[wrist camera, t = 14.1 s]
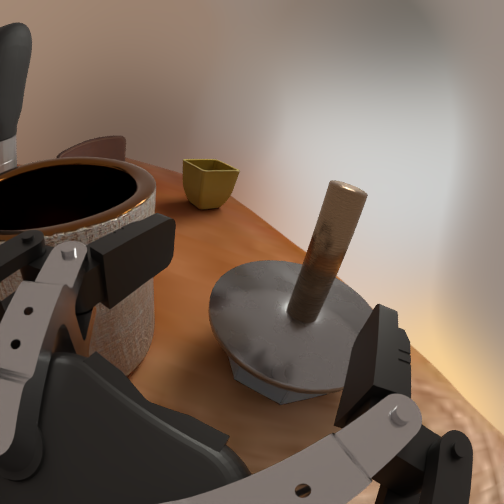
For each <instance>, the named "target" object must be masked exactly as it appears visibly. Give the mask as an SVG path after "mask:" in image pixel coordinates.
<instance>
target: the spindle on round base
mask: <svg viewBox="0 0 504 504" xmlns="http://www.w3.org/2000/svg"><path fill="white" fill-rule="evenodd" d="M367 196H368V195H367V193H365V192H364V191H362V190H361V189H359V188H357V187H355V186H352V185H350V184H346V183H344V182H340V181H330V182H329V186H328V189H327V192H326V196H325V198H324V202H323V205H322V208H321V211H320V214H319V217H318V220H317V224H316V227H315V229H314V232H313V235H312V239H311V241H310V244H309V247H308V250H307V253H306V256H305V259H304V262H303V265H302V264H297V263H292V262H286V261H256V262H250V263H246V264H243V265H240V266H237V267H235V268H233V269H231V270H230V271H228V272H226V273H225V274H224V275H223V276H222V277H221V278H220V279H219V280H218V281H217V282H216V284H215V286H214V288H213V290H212V293H211V296H210V302H209V321H210V325H211V328H212V331H213V333H214V335H215V337H216V340H217V341H218V343H219V344H220V346H221V347H222V349H223V350H224V351H225V352H226V353H227V355H228V356H229V357H230V358H231V359H232V360H233V361H234V362H235V363H236V364H238V365H239V366H240V367H241V368H242V369H244V370H245V371H247V372H248V373H250V374H251V375H253V376H254V377H256V378H258V379H260V380H262V381H264V382H266V383H267V384H270V385H273V386H275V387H278V388H281V389H284V390H288V391H292V392H297V393H305V394H327V393H333V392H338V391H341V390H343V388H344V383H345V379H346V374H347V370H348V365H349V360H350V355H351V350H352V347H353V344H354V342H355V340H356V338H357V336H358V334H359V332H360V331H361V329H362V328H363V326H364V324H365V323H366V321H367V319H368V318H369V316H370V314H371V313H372V311H373V310H372V308H371V307H370V306H369V305H368V303H367V302H366V301H365V300H364V299H363V298H362V297H361V296H360V295H359V294H358V293H357V292H355V291H354V290H353V289H352V288H351V287H349V286H348V285H346V284H345V283H343V282H342V281H340V280H338V279H337V278H336V275H337V273H338V270H339V268H340V266H341V263H342V261H343V259H344V256H345V253H346V251H347V249H348V246H349V244H350V241H351V239H352V236H353V234H354V231H355V228H356V226H357V223H358V220H359V218H360V215H361V212H362V210H363V207H364V204H365V201H366V198H367Z"/></svg>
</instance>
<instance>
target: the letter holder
mask: <svg viewBox="0 0 504 504" xmlns="http://www.w3.org/2000/svg"><path fill="white" fill-rule="evenodd" d="M125 151H126V139H125V138H124V137H123V136H107V137H99V138H94V139H90V140H87V141H84V142H82V143H79V144H77V145H75V146H73V147H70V148H68V149H67V150H64V151H63V152H61V153H60V154H59V155H58V156H57V158H65V157H99V158H108V159H114V160H119V161H124V162H125Z"/></svg>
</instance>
